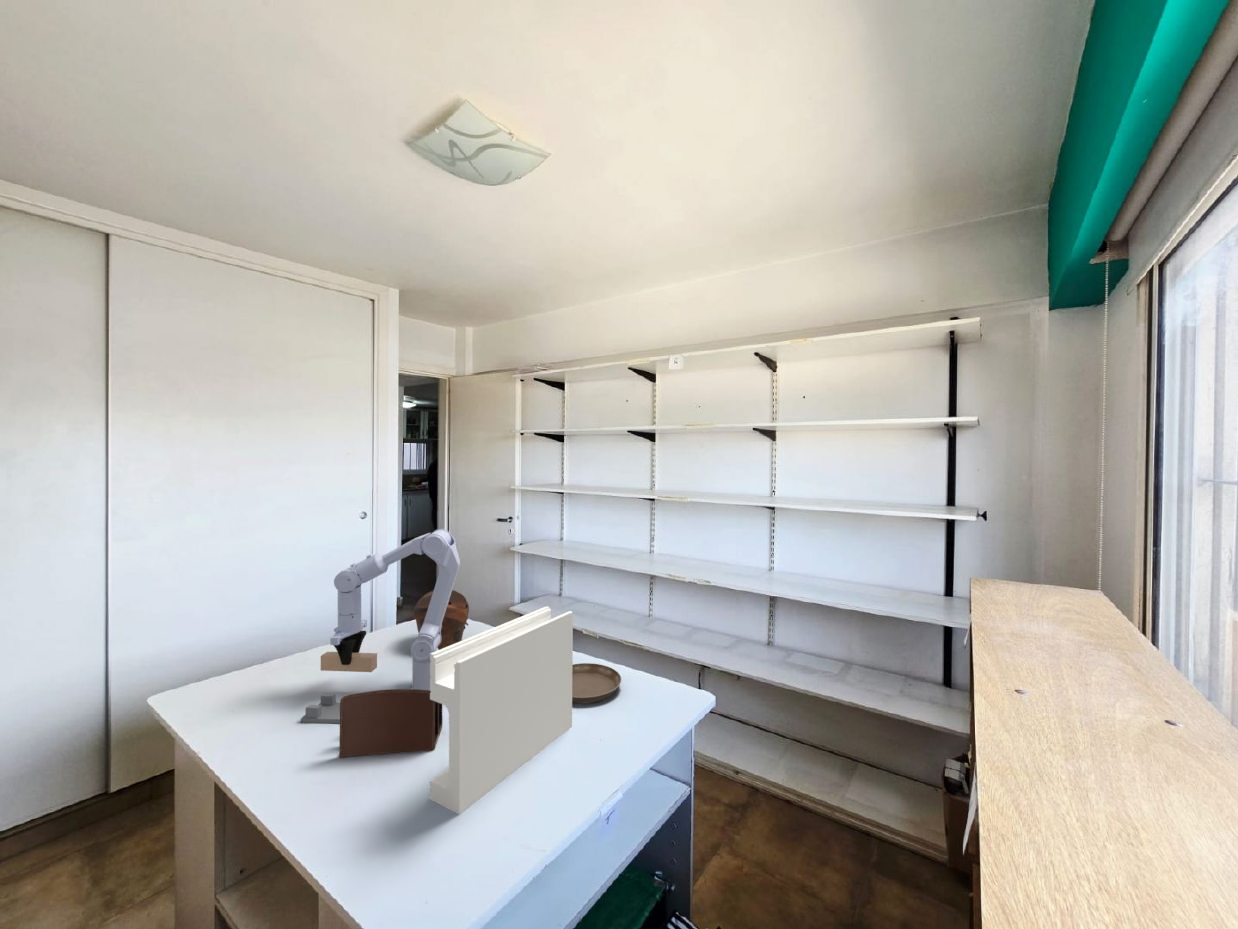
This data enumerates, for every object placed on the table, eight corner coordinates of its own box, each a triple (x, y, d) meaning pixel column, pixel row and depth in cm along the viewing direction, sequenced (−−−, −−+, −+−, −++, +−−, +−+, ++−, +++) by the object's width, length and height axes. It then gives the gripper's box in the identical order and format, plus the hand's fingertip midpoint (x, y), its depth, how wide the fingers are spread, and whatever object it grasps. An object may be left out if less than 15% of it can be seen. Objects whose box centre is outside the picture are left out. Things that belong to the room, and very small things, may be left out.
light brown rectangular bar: (376, 667, 141) (377, 653, 141) (371, 672, 138) (371, 657, 138) (327, 665, 141) (327, 651, 141) (320, 670, 138) (320, 655, 138)
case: (438, 662, 159) (439, 605, 159) (400, 649, 170) (400, 595, 170) (482, 646, 174) (483, 593, 174) (444, 634, 185) (445, 585, 185)
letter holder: (434, 751, 113) (434, 688, 112) (338, 759, 110) (338, 694, 109) (442, 727, 123) (443, 669, 122) (354, 733, 119) (354, 674, 119)
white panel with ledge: (459, 814, 93) (459, 663, 92) (429, 799, 97) (429, 653, 96) (571, 726, 123) (572, 611, 122) (545, 717, 127) (546, 606, 127)
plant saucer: (588, 717, 128) (588, 703, 128) (531, 692, 141) (531, 681, 141) (635, 687, 145) (635, 675, 145) (581, 668, 157) (581, 657, 157)
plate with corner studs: (382, 707, 131) (382, 694, 131) (365, 724, 123) (365, 710, 123) (321, 706, 132) (321, 692, 132) (300, 722, 124) (300, 708, 124)
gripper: (350, 604, 146) (350, 651, 147) (318, 620, 132) (319, 672, 132) (374, 604, 146) (374, 651, 147) (345, 621, 132) (345, 673, 132)
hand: (349, 661), depth 139 cm, fingers closed on light brown rectangular bar, 3 cm apart
